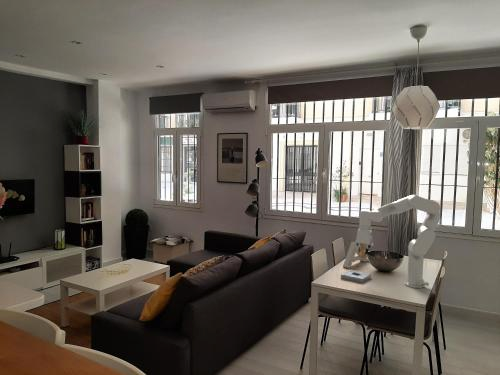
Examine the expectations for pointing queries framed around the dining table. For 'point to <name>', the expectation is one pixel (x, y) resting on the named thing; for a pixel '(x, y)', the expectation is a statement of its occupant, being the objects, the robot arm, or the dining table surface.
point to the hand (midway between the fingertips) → (363, 253)
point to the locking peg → (363, 251)
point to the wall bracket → (352, 256)
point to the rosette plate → (356, 276)
